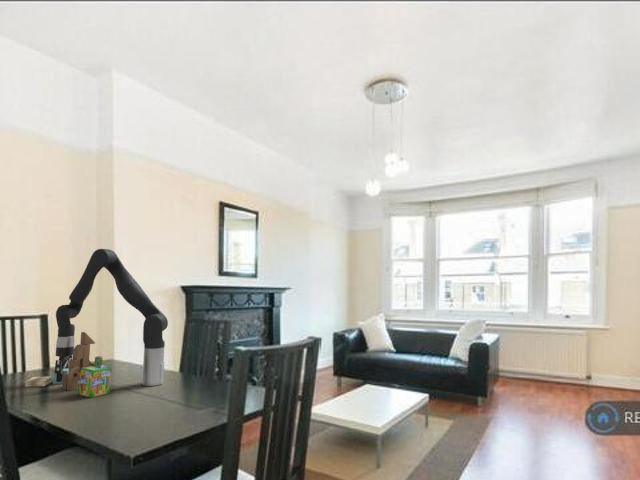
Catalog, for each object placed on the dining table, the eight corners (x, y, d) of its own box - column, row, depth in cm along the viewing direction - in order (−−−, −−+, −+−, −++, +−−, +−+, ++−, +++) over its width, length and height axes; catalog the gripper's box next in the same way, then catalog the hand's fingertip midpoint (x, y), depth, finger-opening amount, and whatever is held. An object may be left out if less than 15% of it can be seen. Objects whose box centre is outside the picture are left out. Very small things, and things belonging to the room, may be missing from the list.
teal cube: (71, 380, 202) (72, 368, 203) (66, 383, 196) (67, 370, 197) (58, 381, 201) (59, 368, 202) (52, 384, 195) (53, 371, 196)
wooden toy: (70, 391, 183) (75, 334, 185) (61, 389, 186) (65, 333, 188) (102, 383, 197) (105, 330, 199) (93, 382, 200) (96, 330, 202)
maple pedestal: (51, 382, 199) (52, 376, 199) (44, 386, 191) (45, 380, 191) (33, 383, 197) (33, 376, 197) (25, 387, 189) (25, 381, 189)
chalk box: (77, 395, 177) (80, 360, 178) (98, 390, 185) (100, 357, 186) (90, 398, 172) (93, 362, 174) (110, 393, 180) (113, 359, 182)
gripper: (68, 347, 194) (65, 382, 193) (78, 343, 208) (76, 376, 206) (50, 348, 193) (47, 383, 191) (62, 343, 207) (60, 376, 205)
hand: (62, 379), depth 199 cm, fingers open, 8 cm apart
